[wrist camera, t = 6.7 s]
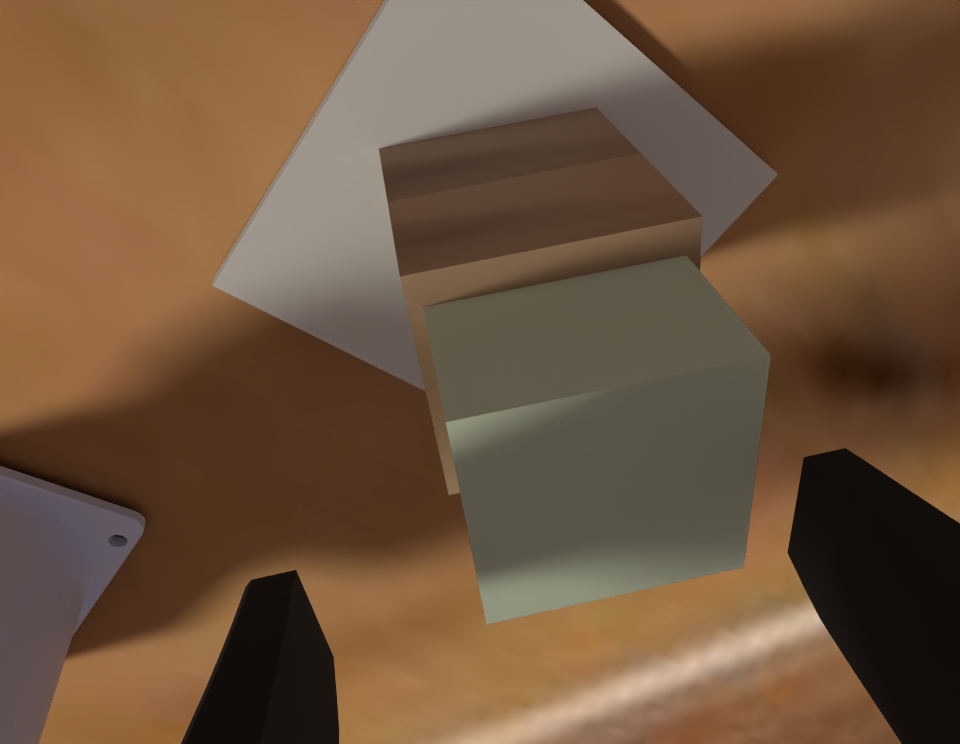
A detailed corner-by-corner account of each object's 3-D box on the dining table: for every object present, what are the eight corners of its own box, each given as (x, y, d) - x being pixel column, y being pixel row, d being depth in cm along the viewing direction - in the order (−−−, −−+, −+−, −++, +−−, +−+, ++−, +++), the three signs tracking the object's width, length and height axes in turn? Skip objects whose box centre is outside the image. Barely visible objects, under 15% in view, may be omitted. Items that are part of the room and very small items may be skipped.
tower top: (641, 359, 18) (691, 442, 15) (431, 403, 17) (448, 495, 15) (640, 153, 15) (702, 216, 12) (387, 202, 14) (399, 276, 12)
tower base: (603, 296, 20) (641, 359, 18) (418, 333, 20) (431, 403, 17) (596, 107, 17) (640, 153, 15) (378, 148, 17) (387, 202, 14)
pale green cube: (678, 451, 15) (743, 567, 13) (460, 497, 15) (486, 624, 13) (686, 255, 13) (771, 355, 10) (422, 306, 12) (445, 422, 10)
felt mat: (524, 431, 23) (528, 442, 23) (214, 275, 18) (212, 285, 18) (768, 167, 19) (778, 174, 19) (454, -113, 15) (458, -111, 14)
